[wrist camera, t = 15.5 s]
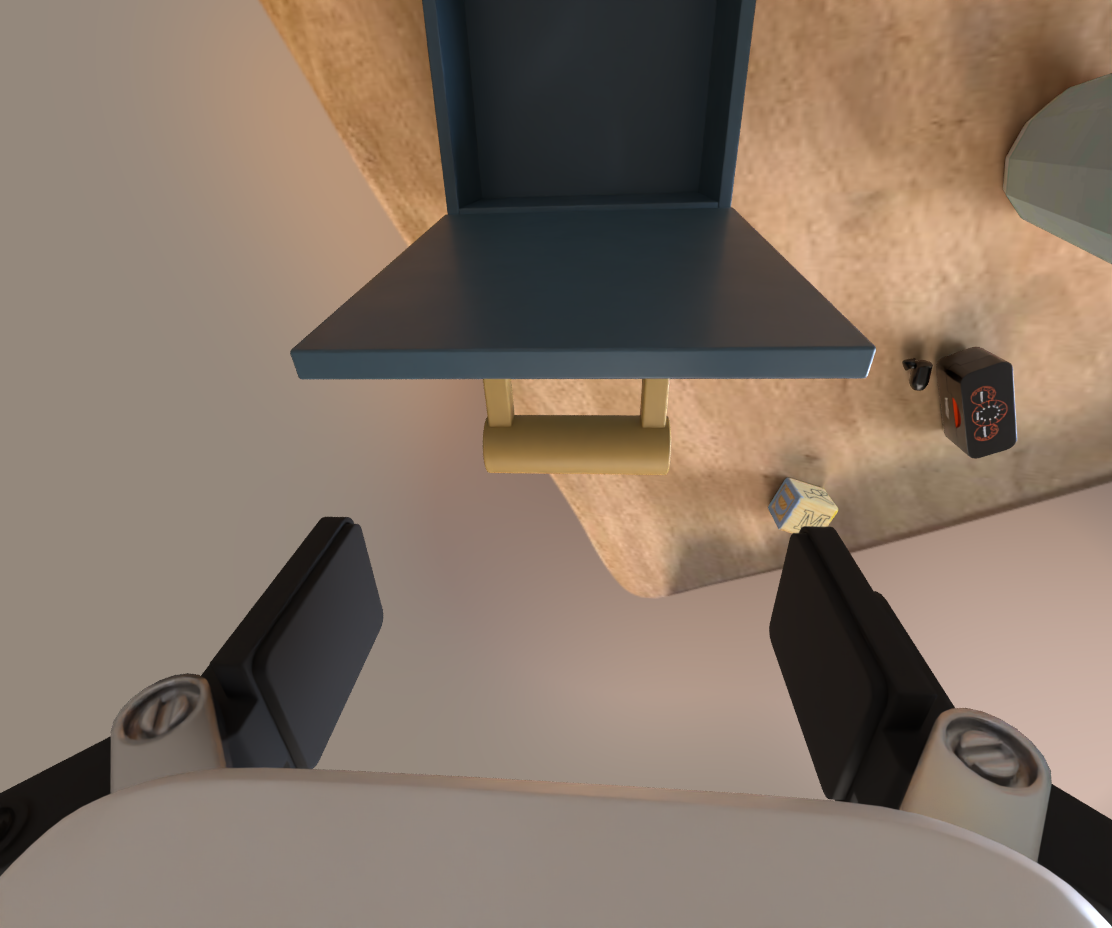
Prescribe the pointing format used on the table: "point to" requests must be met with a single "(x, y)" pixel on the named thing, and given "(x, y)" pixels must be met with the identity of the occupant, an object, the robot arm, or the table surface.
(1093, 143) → the disposable coffee cup
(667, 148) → the chest
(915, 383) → the wireless earbuds
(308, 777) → the robot arm
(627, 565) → the table surface
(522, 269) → the lid
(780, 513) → the alphabet block
